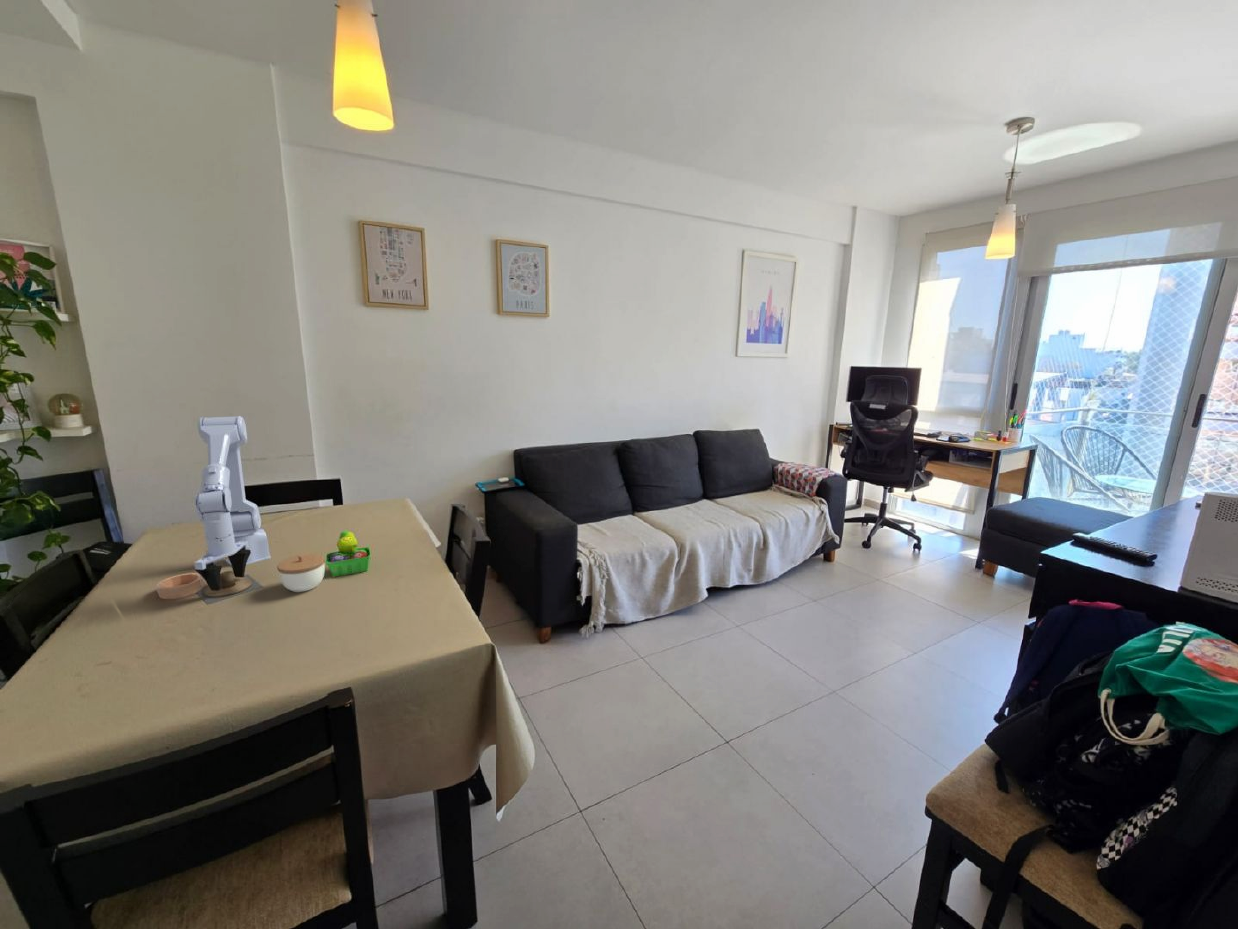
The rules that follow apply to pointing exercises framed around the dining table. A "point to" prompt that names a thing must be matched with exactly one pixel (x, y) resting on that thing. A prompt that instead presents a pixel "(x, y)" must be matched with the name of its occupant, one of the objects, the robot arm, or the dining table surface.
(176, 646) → the dining table surface
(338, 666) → the dining table surface
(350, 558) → the fruit basket
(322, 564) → the lidded jar
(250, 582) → the lid
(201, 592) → the mat
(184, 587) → the bowl
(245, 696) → the dining table surface
